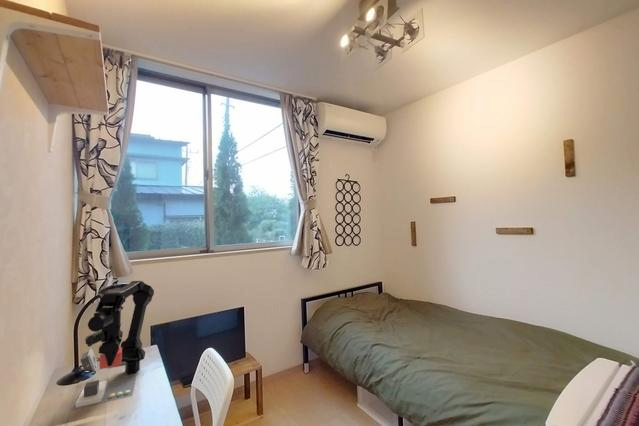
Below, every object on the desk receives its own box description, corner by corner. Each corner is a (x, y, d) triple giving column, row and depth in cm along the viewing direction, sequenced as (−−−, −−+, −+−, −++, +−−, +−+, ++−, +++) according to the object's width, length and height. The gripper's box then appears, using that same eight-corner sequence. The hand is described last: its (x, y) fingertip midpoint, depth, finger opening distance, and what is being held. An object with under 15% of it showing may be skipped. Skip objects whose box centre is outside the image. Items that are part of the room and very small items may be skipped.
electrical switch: (96, 373, 136) (94, 353, 136) (81, 378, 134) (79, 357, 134) (98, 365, 144) (96, 346, 144) (84, 369, 142) (82, 350, 142)
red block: (102, 362, 122) (102, 350, 122) (121, 359, 125) (122, 347, 125) (99, 369, 116) (99, 356, 116) (120, 365, 119) (120, 353, 120)
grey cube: (86, 392, 116) (86, 382, 116) (98, 389, 118) (99, 380, 118) (83, 397, 112) (84, 387, 112) (96, 394, 114) (97, 384, 114)
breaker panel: (82, 390, 122) (82, 383, 123) (136, 379, 131) (136, 372, 131) (70, 413, 107) (70, 405, 107) (132, 398, 116) (132, 391, 116)
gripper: (91, 320, 126) (90, 358, 125) (82, 333, 109) (81, 377, 109) (123, 316, 131) (122, 352, 130) (118, 328, 115) (117, 369, 114)
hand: (111, 362), depth 121 cm, fingers closed on red block, 7 cm apart
